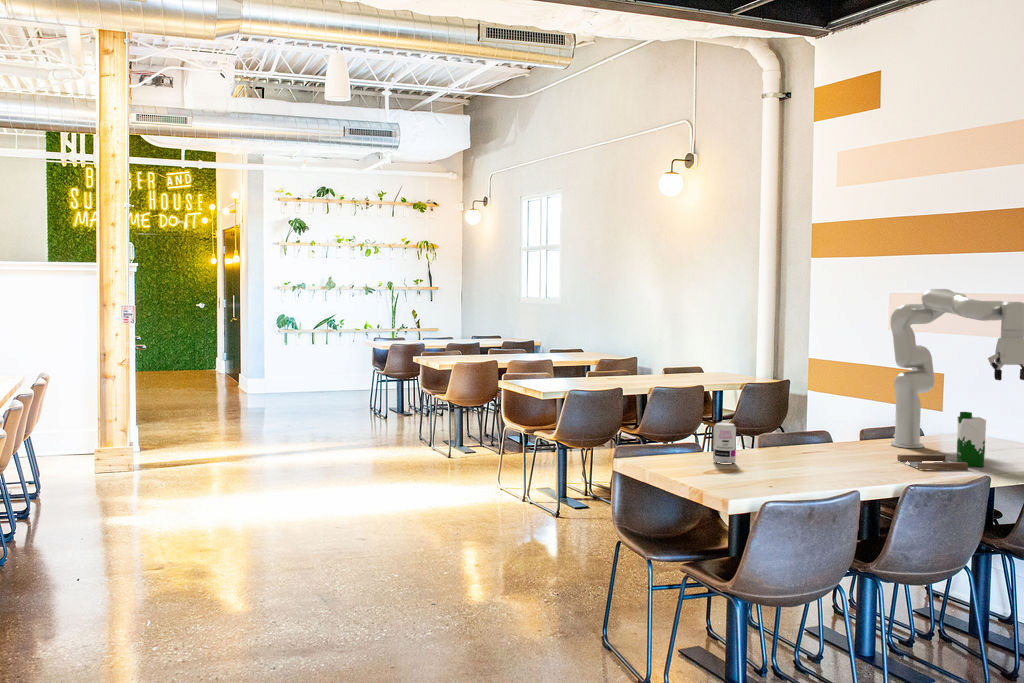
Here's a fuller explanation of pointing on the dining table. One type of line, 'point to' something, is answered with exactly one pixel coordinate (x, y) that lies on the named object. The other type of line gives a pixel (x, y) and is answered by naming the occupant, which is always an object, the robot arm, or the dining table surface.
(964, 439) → the soya milk
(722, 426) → the supplement can
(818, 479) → the dining table surface
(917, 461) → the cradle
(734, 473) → the dining table surface
